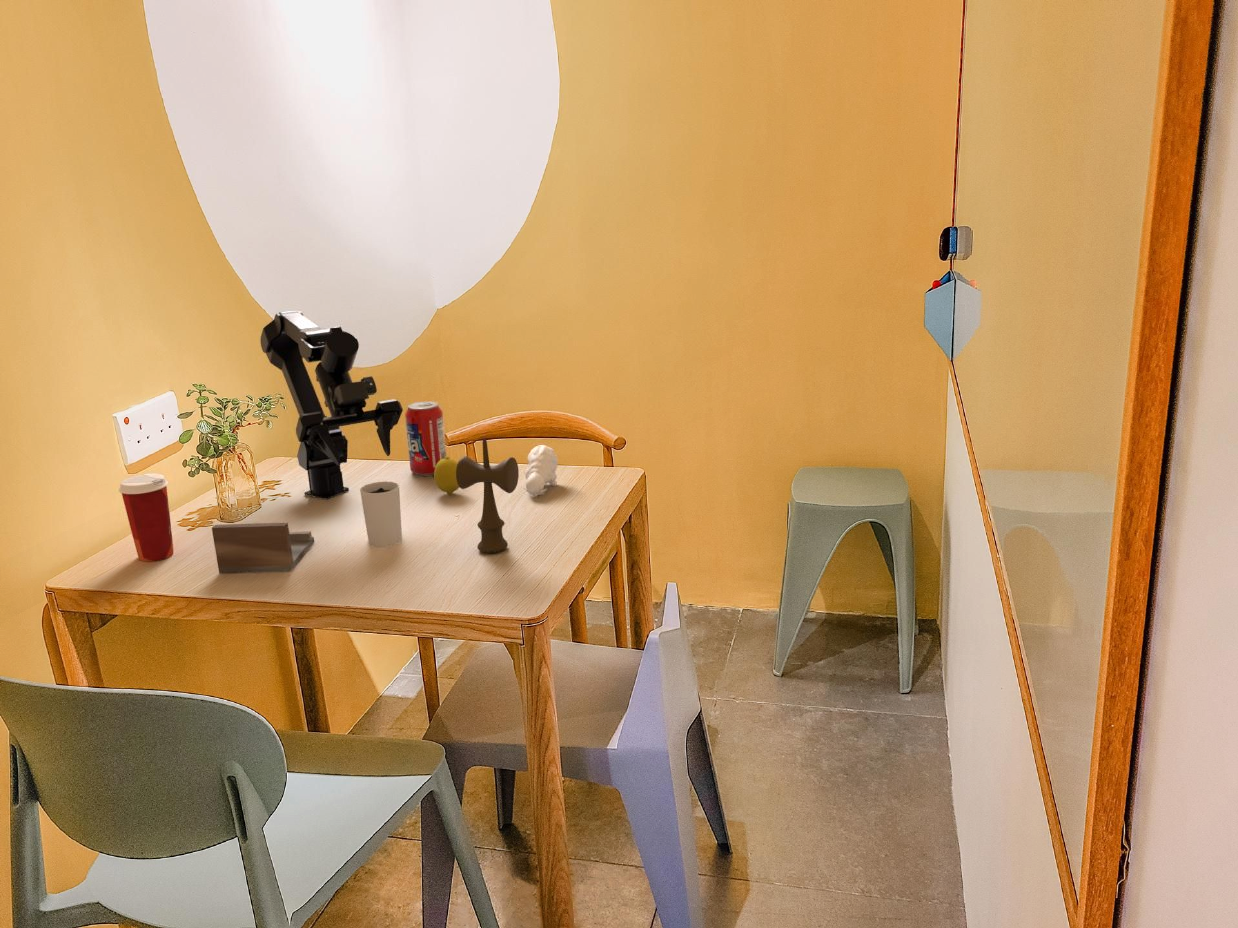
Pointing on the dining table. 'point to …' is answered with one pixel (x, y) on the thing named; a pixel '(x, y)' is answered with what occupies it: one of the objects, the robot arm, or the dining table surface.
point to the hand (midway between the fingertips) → (364, 459)
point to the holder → (259, 547)
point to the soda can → (425, 437)
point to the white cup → (382, 513)
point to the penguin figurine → (540, 469)
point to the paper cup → (148, 515)
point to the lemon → (446, 475)
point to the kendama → (489, 494)
